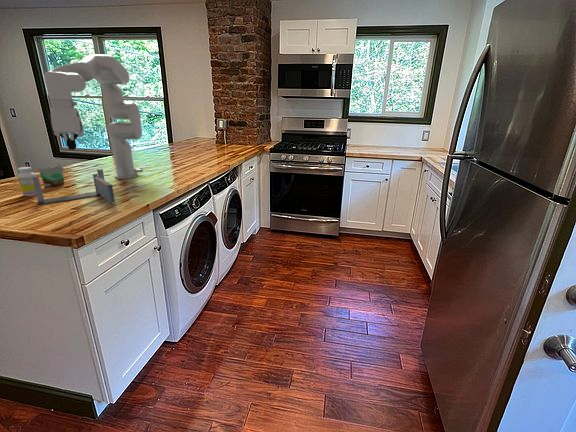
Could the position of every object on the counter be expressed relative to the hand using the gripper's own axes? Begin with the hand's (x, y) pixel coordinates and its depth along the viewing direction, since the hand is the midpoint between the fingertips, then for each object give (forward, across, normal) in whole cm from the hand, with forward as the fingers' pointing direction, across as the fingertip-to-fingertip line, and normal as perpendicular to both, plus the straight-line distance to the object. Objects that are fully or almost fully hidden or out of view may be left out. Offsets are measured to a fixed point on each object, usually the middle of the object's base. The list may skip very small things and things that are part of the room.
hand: (72, 149), depth 132 cm
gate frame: (+23, +4, -4) cm, 24 cm away
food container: (+24, +21, -29) cm, 43 cm away
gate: (+22, -9, 0) cm, 24 cm away
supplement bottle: (+23, +26, -13) cm, 37 cm away
